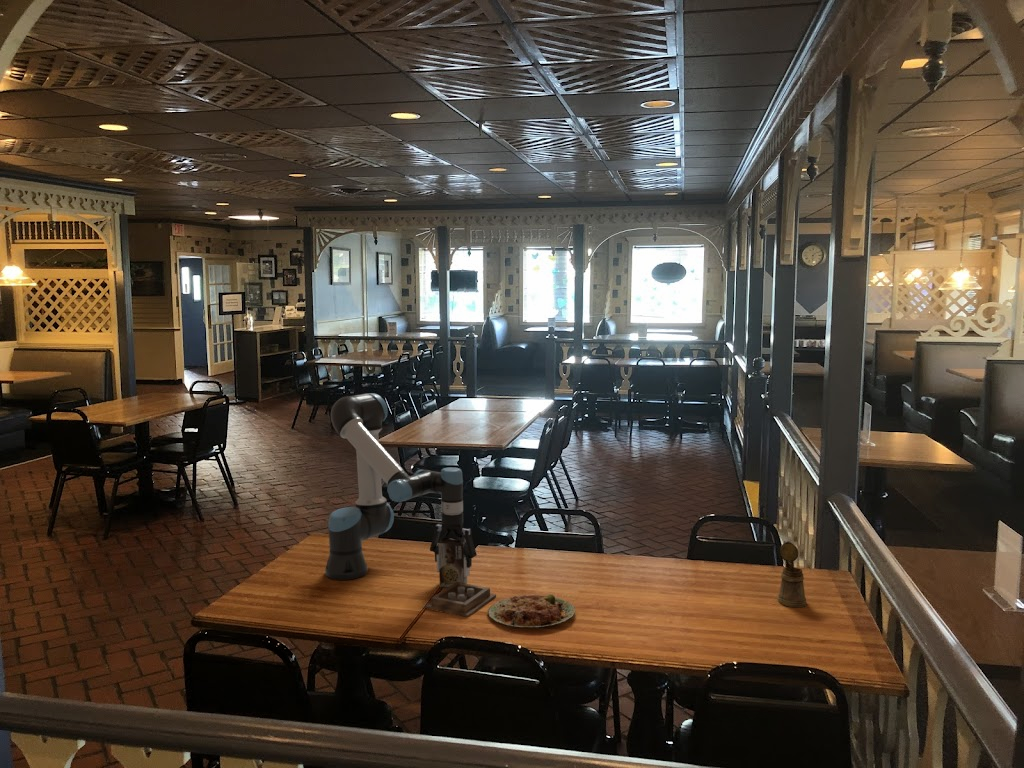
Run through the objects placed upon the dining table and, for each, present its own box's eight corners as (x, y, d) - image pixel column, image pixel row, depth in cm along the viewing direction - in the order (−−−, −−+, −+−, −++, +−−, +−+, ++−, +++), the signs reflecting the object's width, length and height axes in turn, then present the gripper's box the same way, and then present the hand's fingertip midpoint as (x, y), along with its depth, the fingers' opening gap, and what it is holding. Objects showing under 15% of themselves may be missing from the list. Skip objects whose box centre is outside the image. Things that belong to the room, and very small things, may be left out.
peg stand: (425, 608, 257) (424, 597, 257) (455, 588, 274) (455, 578, 274) (467, 617, 250) (467, 605, 250) (496, 596, 267) (496, 586, 266)
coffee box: (467, 581, 281) (467, 537, 279) (464, 588, 275) (464, 543, 273) (442, 580, 282) (441, 536, 280) (438, 587, 276) (438, 542, 274)
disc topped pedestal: (799, 592, 269) (801, 541, 267) (809, 608, 256) (811, 554, 254) (772, 591, 270) (774, 540, 268) (780, 607, 257) (782, 553, 255)
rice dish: (476, 609, 260) (475, 593, 259) (551, 592, 271) (550, 577, 270) (509, 643, 235) (508, 626, 234) (591, 623, 245) (590, 607, 245)
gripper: (418, 511, 277) (420, 571, 280) (475, 519, 267) (476, 582, 270) (430, 505, 284) (431, 565, 287) (486, 513, 274) (487, 575, 276)
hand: (453, 573), depth 278 cm, fingers closed on coffee box, 10 cm apart
